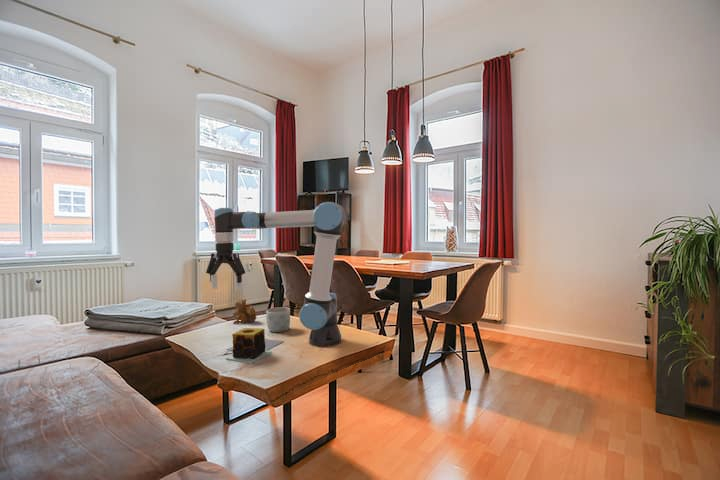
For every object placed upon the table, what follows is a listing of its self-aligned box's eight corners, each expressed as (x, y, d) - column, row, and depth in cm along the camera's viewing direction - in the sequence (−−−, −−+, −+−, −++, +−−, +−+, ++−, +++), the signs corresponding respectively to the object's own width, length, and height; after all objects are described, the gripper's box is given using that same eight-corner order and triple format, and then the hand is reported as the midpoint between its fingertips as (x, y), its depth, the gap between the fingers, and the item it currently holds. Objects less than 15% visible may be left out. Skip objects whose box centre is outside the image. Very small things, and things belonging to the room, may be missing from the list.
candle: (254, 359, 144) (253, 335, 144) (232, 358, 147) (231, 334, 146) (266, 351, 154) (265, 328, 154) (245, 349, 157) (244, 327, 156)
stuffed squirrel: (239, 319, 214) (238, 297, 214) (261, 320, 211) (260, 298, 211) (230, 323, 204) (229, 301, 204) (252, 324, 202) (252, 301, 201)
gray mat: (283, 341, 169) (283, 341, 169) (259, 354, 152) (259, 353, 152) (253, 338, 176) (253, 337, 176) (226, 350, 159) (226, 349, 159)
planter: (287, 333, 183) (287, 312, 182) (263, 333, 183) (263, 312, 182) (292, 326, 195) (292, 307, 195) (270, 327, 195) (269, 307, 195)
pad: (271, 352, 154) (271, 351, 154) (252, 363, 142) (251, 361, 142) (247, 349, 159) (247, 348, 159) (226, 359, 147) (226, 358, 147)
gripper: (252, 241, 159) (254, 289, 159) (209, 242, 168) (211, 287, 168) (241, 242, 152) (242, 292, 152) (196, 243, 161) (198, 289, 161)
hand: (226, 289), depth 160 cm, fingers open, 13 cm apart
